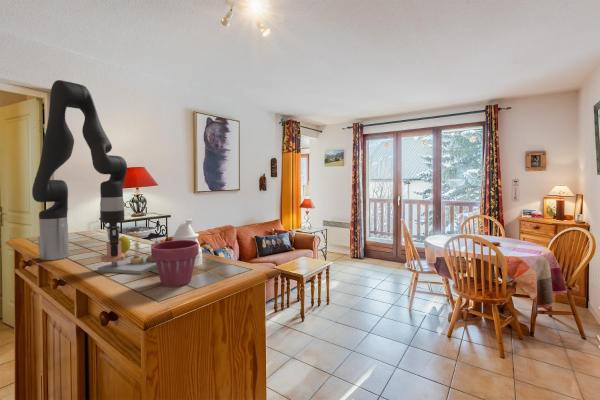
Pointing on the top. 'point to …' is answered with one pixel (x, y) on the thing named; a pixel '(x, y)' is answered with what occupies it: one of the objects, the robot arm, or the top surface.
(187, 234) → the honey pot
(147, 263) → the carrier
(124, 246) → the lemon
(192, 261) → the plant pot
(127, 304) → the top surface
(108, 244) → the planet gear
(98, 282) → the top surface
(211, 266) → the top surface
